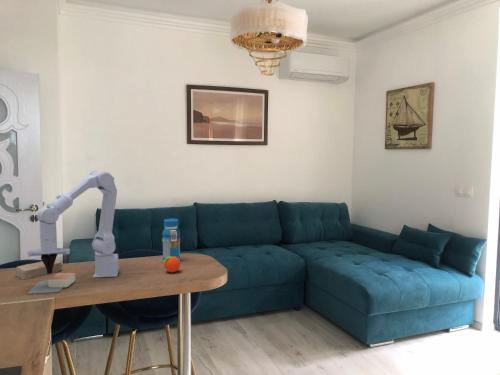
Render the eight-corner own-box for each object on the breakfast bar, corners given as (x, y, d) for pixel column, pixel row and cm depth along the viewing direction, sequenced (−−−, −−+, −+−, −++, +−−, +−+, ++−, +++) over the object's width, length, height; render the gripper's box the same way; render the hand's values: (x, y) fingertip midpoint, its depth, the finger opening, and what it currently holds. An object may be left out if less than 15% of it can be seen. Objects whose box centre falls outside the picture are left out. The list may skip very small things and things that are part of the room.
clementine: (167, 275, 177) (167, 259, 176) (159, 272, 182) (158, 256, 181) (183, 272, 182) (183, 256, 182) (175, 268, 187) (174, 253, 187)
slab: (75, 273, 168) (57, 273, 168) (66, 279, 160) (48, 279, 160) (75, 280, 169) (58, 280, 169) (66, 287, 161) (48, 287, 161)
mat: (68, 280, 170) (68, 279, 170) (59, 292, 156) (59, 291, 156) (40, 281, 168) (39, 280, 168) (27, 294, 154) (27, 293, 154)
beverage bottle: (159, 262, 197) (159, 220, 195) (166, 258, 206) (165, 217, 204) (176, 263, 196) (176, 221, 194) (182, 258, 204) (182, 218, 202)
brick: (23, 280, 171) (23, 269, 170) (14, 276, 176) (14, 265, 176) (63, 271, 184) (62, 261, 183) (54, 268, 189) (53, 258, 188)
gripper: (70, 235, 166) (71, 269, 167) (30, 237, 162) (31, 271, 163) (67, 239, 159) (69, 274, 161) (25, 241, 155) (27, 277, 157)
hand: (50, 273), depth 162 cm, fingers closed
